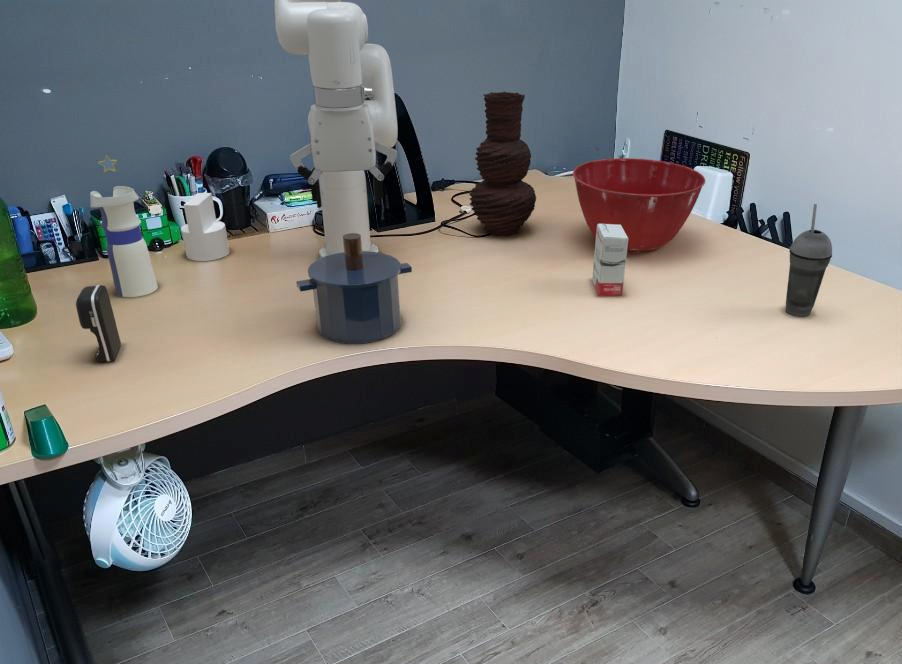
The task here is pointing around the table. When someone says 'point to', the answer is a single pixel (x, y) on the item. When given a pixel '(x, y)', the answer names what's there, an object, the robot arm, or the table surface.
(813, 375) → the table surface
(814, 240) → the beverage cup
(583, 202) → the mixing bowl
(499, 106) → the vase
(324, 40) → the robot arm
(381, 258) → the pot lid
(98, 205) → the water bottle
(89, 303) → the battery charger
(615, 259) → the ink box
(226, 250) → the cylinder with rectangular tab
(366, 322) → the pot
